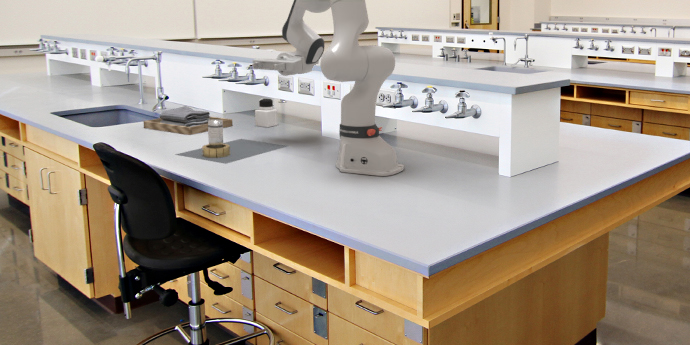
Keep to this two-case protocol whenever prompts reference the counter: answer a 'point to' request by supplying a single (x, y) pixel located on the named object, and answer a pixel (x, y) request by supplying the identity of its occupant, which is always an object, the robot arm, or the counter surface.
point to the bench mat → (237, 150)
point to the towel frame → (157, 125)
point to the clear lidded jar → (215, 133)
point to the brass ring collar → (216, 151)
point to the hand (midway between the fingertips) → (263, 66)
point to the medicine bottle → (266, 114)
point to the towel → (184, 117)
